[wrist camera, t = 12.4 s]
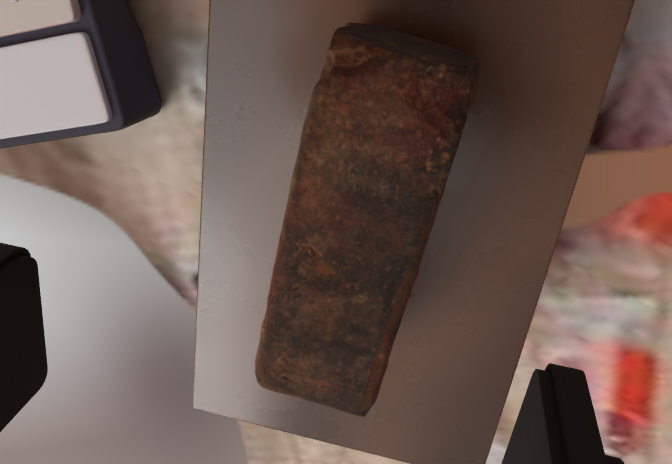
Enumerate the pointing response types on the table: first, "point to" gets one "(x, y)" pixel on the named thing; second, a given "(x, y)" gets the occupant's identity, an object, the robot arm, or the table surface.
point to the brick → (361, 211)
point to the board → (450, 222)
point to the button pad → (71, 70)
